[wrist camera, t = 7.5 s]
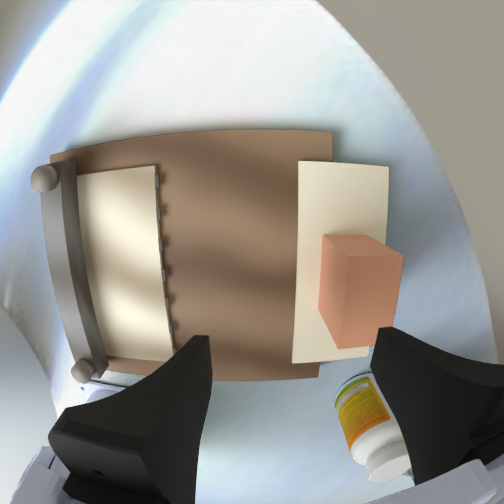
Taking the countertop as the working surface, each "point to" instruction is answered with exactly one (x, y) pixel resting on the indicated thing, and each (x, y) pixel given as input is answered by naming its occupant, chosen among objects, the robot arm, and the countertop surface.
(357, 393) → the supplement bottle
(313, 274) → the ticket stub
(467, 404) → the robot arm
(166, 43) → the countertop surface
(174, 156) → the ticket board
